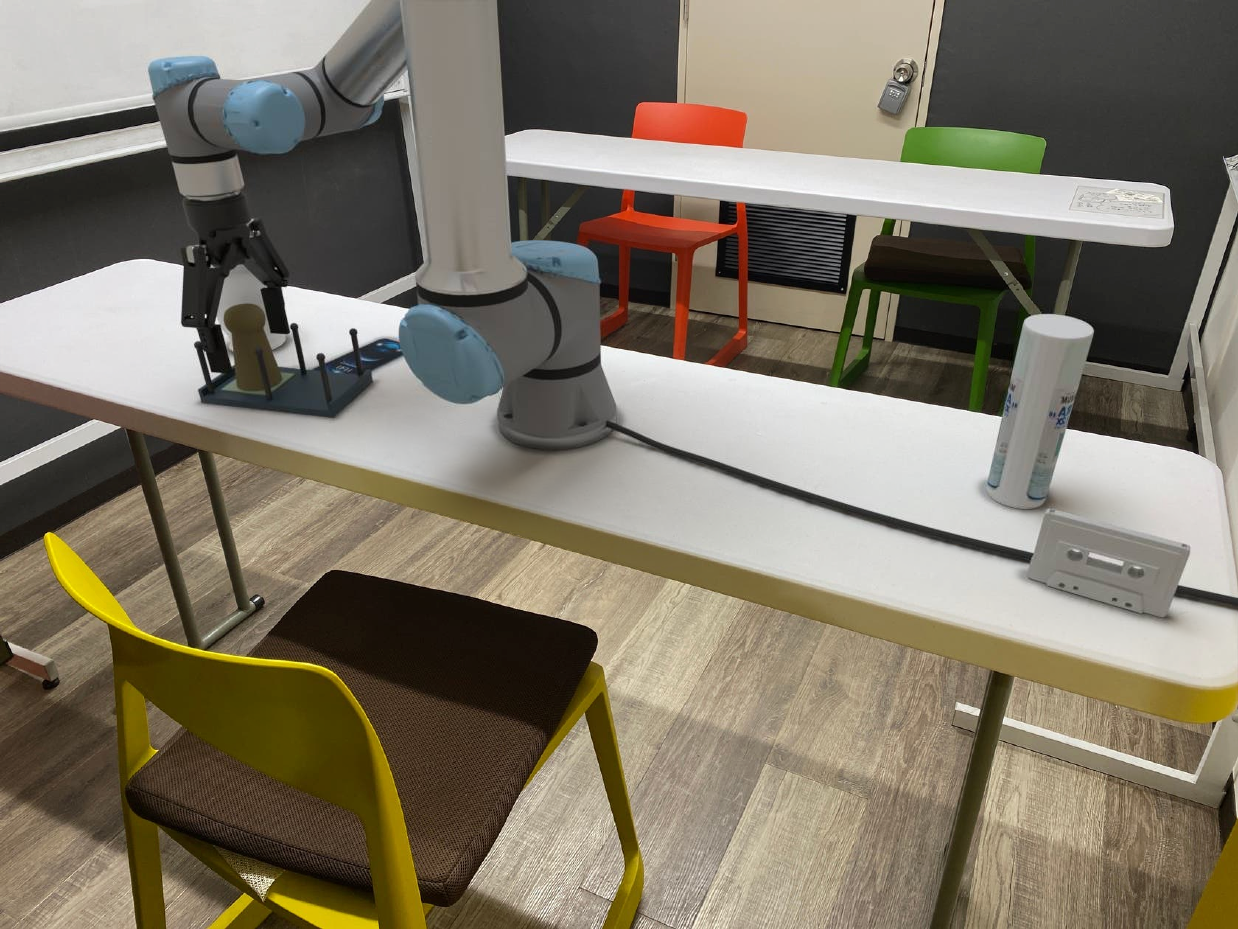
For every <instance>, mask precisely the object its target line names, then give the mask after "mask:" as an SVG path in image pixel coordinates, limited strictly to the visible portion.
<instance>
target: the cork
mask: <svg viewBox="0 0 1238 929" xmlns="http://www.w3.org/2000/svg"><path fill="white" fill-rule="evenodd" d="M224 324H225V326H226V328H227V329H228V331H230V332H231V334H232V344H233V351H232V352H233V353H232V354H233V363H234V364H233V365H235V373H236V383H237V387H238V388H239V389H241V390H244V391H261V390H264V386H263V382H262V377H261V373H260V369H259V365H258V361H257V356H256V354H255V353H254V349H255V348H256V347H261V348H262V349H263V358H264V362H265V366H266V370H267V375H268V379H269V383H270V388H272V387H274V386H276V385H278V384H279V383H280V382H281V381H282V375H281V373H280V370H279V367H280V366H279V365H278V363H277V362H278V361H277V360H276V357H275V355H274V352H273V350H272V349H271V347H270V344H269V341H268V339H267V336H266V333H265V331H264V326H265V314H264V312H263V310H262V309H261V308H260V307H259V306H258V305H255V304H250V303H245V304H238V305H234V306H232V307H230V308H228V309H227V310H226V311H225V313H224Z"/></svg>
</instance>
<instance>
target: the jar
mask: <svg viewBox="0 0 1238 929" xmlns="http://www.w3.org/2000/svg"><path fill="white" fill-rule="evenodd" d="M210 268H215V267H213V266H212V265H211V267H210ZM275 269H277V268H276V267H275ZM262 288H267V286H264V285H263V284H262V283H261V282H260V281H259V280H258V279H257V278H256V277H255V276H254V275H253V274H252V273H251V272H250V271H249V270H248V269H247V268H246V267H245V266H244V265H243V264H242V265H237V266H236V267H235V268H234V269H232V270H230V273H229V276H228V277H226V278H225V280H224V284H223V289H222V293H221V298H220V303H219V307H218V312H217V316H216V320H217V322H218V324H220V325H221V329H222V332H223V333H224V334H225V335H226V336H227V337H228V339H229V342H228V349H229V350H230V351H231V352H233V344H232V334H231V332H230V331H228V329H227V328H226V326H225V324H224V313H225V311H226V310H227V309H228V308H230V307H232V306H234V305H238V304H245V303H250V304H255V305H258V306H259V307H260V308H261V309H262V310H263V312H264V314H265V326H264V331H265V333H266V336H267V339H268V341H269V344H270V347H271V349H272V351H273V350H275V349H278V348H279V347H281V346H282V345H284V343H285V342H286V339H287V337H286V334H275V333H270V328H269V324H268V320H267V316H266V311H265V307H264V303H263V299H262V294H261V290H260V289H262ZM281 288H282V289H283V287H281ZM282 293H283V294H284V292H283V291H282Z"/></svg>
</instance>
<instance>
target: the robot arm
mask: <svg viewBox="0 0 1238 929" xmlns="http://www.w3.org/2000/svg"><path fill="white" fill-rule="evenodd" d="M498 20H499V18H498V1H497V0H370V1H369V2H368V3H367V5H366V6H365V7H364V8H363V9H362V10H361V12H359V13H358V15H357V17H356V18H355V19H354V20H353V22H352V23H351V24H350V25H349V26H348V27H347V29H346V30H345V31H344V32H343V33H342V35H340V36H339V38H338V40H337V41H336V42H335V43H334V44H333V46H332V47H331V48H330V50H329V51H327V53H325V55H324V56H323V57H322V58H321V59H320V61H318V63H317V64H316V65H315V66H314V67H312V68H310V69H304V70H297V71H291V72H287V73H286V72H285V73H279V74H273V75H267V76H266V75H265V76H259V77H253V78H246V79H229V78H228V79H227V78H226V79H225V78H222V77H221V74H220V73H219V70H218V68H217V65H216V62H215V61H214V60H213V59H212V58H211V57H208V56H204V55H185V56H184V55H183V56H171V57H170V56H169V57H164V58H163V57H162V58H158V59H155V60H152V61H151V62H150V63H149V65H148V67H147V72H148V77H149V81H150V86H151V90H152V91H151V92H152V95H151V98H152V101H153V103H154V105H155V109H156V112H157V116H158V119H159V124H160V126H161V130H162V133H163V137H164V140H165V144H166V147H167V151H168V154H169V157H170V161H171V164H172V168H173V171H174V175H175V180H176V183H177V187H178V191H179V193H180V195H183V196H184V197H183V198H182V200H181V204H182V207H183V211H184V215H185V219H186V222H187V226H188V228H189V229H191V230H192V231H194V233H196V235H197V244H195V245H182V246H181V247H180V253H181V259H182V264H183V269H182V270H183V272H182V273H183V274H182V292H181V315H180V324H181V327H183V328H191V329H196V331H197V336H198V338H199V341H200V342H201V345H202V349H203V351H204V353H205V356H206V360H207V362H208V367H209V369H210V370H209V371H210V373H215V374H221V373H224V374H230V373H232V372H233V370H232V366H233V365H232V363H231V359H230V356H229V352H228V348H227V344H226V339H225V336H224V331H223V329H222V328H221V325H220V324H219V323H216V320H217V312H218V307H219V303H220V298H221V293H222V289H223V284H224V280H225V278H226V277H228V276H229V273H230V270H232V269H234V268H235V267H236V266H237V265H242V264H243V265H244V266H245V267H246V268H247V269H248V270H249V271H250V272H251V273H252V274H253V275H254V276H255V277H256V278H257V279H258V280H259V281H260V282H261V283H262V284H263V285H264V286H267V288H262V289H260V290H261V294H262V299H263V303H264V307H265V311H266V316H267V320H268V324H269V328H270V333H275V334H284V335H290V333H291V329H290V324H289V320H288V316H287V311H286V301H285V298H284V292H283V288H287V287H288V285H289V281H288V279H289V277H290V271H289V268H288V267H287V266H286V264H285V262H284V261H283V259H282V258H281V256H280V255H279V253H278V250H277V249H276V248H275V246H274V244H273V243H272V240H271V239H270V237H269V236H268V235H267V231H266V228H265V225H264V224H265V223H264V222H263V219H262V218H252V215H251V211H250V205H249V200H248V197H247V193H246V192H244V191H243V190H242V189H244V186H245V182H244V177H243V173H242V170H241V169H242V168H241V166H240V165H241V164H240V161H239V158H238V153H237V150H238V151H245V152H250V153H252V154H255V153H256V154H258V155H269V154H278V155H279V154H285V153H289V152H291V151H292V150H293V149H294V148H295V147H296V146H297V145H298V144H299V143H300V142H302V141H308V140H311V139H314V138H315V139H316V138H319V137H324V136H325V137H326V136H330V135H333V134H338V133H339V134H340V133H344V132H353V131H357V130H359V129H361V128H363V127H365V126H368V125H371V124H373V123H375V122H376V121H378V119H379V118H380V117H381V115H382V114H383V111H382V110H383V106H384V104H385V94H386V93H387V92H388V91H389V90H390V88H391V87H392V86H393V85H395V83H396V82H397V81H398V80H399V79H400V78H402V76H403V75H404V74H405V73H406V72H407V79H408V86H409V88H408V89H409V95H410V104H411V114H412V116H411V117H412V123H413V132H414V133H413V134H414V142H415V152H416V159H417V160H416V161H417V170H418V178H419V187H420V196H421V205H422V206H421V208H422V214H423V223H424V225H423V226H424V234H425V244H426V251H427V259H426V260H425V261H424V262H423V263H422V264H421V265H420V266H419V268H417V270H416V272H415V274H414V280H415V286H416V297H417V305H415V306H412V307H411V306H410V308H409V309H408V311H407V312H406V313H405V314H404V317H403V318H402V319H401V320H400V322H399V325H398V342H400V347H401V350H402V353H403V356H402V357H403V358H404V360H405V362H406V364H407V366H408V368H409V369H410V371H411V372H412V374H413V375H414V376H415V378H416V379H418V380H419V381H420V382H421V383H422V385H423V387H425V388H426V389H427V390H428V391H430V392H431V393H432V394H433V395H435V396H437V398H440V399H442V400H444V401H446V402H449V403H452V404H456V405H471V404H475V403H477V402H480V401H481V400H484V399H485V398H487V397H491V396H494V395H497V394H498V393H500V391H501V394H500V398H499V402H498V407H497V409H496V410H497V411H496V416H497V426H498V429H499V431H500V433H501V434H502V435H503V436H504V437H505V438H506V439H508V440H509V441H511V442H512V443H514V444H517V445H519V446H523V447H527V448H531V449H539V450H553V451H554V450H567V449H573V448H574V449H575V448H579V447H583V446H587V445H591V444H593V443H595V442H598V441H599V440H601V439H603V438H605V437H606V436H607V435H609V434H610V433H611V432H612V431H616V432H618V433H620V434H623V435H625V436H628V437H630V438H632V439H635V440H637V441H639V442H641V443H643V444H645V445H647V446H650V447H652V448H655V449H658V450H660V451H663V452H665V453H667V454H671V455H675V456H677V457H680V458H683V459H687V460H690V461H693V462H696V463H699V464H702V465H706V466H708V467H712V468H714V469H718V470H719V471H723V472H725V473H729V474H732V475H735V476H737V477H741V478H742V479H746V480H748V481H752V482H755V483H757V484H760V485H763V486H765V487H769V488H772V489H775V490H777V491H781V492H785V493H786V494H790V495H793V496H796V497H799V498H801V499H802V498H803V499H805V500H809V501H812V502H814V503H818V504H820V505H824V506H827V507H830V508H834V509H837V510H840V511H844V512H847V513H850V514H853V515H857V516H859V517H864V518H867V519H870V520H874V521H876V522H880V523H883V524H887V525H891V526H895V527H899V528H902V529H906V530H910V531H913V532H916V533H920V534H924V535H928V536H931V537H935V538H939V539H942V540H946V541H950V542H954V543H958V544H962V545H965V546H969V547H973V548H977V549H981V550H985V551H990V552H994V553H997V554H1001V555H1006V556H1010V557H1014V558H1017V559H1022V560H1026V561H1030V562H1031V559H1032V557H1033V554H1034V552H1032V551H1026V550H1022V549H1018V548H1013V547H1009V546H1006V545H1001V544H997V543H994V542H988V541H984V540H980V539H976V538H973V537H969V536H965V535H961V534H957V533H953V532H949V531H946V530H945V531H944V530H941V529H938V528H933V527H930V526H927V525H922V524H920V523H919V524H918V523H915V522H911V521H908V520H904V519H901V518H897V517H893V516H890V515H887V514H883V513H879V512H875V511H873V510H869V509H865V508H862V507H858V506H855V505H852V504H849V503H846V502H842V501H838V500H835V499H832V498H829V497H825V496H822V495H819V494H816V493H813V492H810V491H806V490H803V489H800V488H797V487H794V486H791V485H788V484H785V483H782V482H780V481H776V480H773V479H770V478H766V477H765V476H764V477H763V476H761V475H758V474H755V473H753V472H749V471H746V470H743V469H740V468H738V467H735V466H732V465H729V464H727V463H724V462H720V461H718V460H715V459H711V458H708V457H706V456H702V455H700V454H696V453H692V452H689V451H686V450H682V449H679V448H677V447H674V446H671V445H668V444H665V443H662V442H660V441H657V440H655V439H652V438H650V437H648V436H645V435H643V434H641V433H640V432H637V431H634V430H632V429H629V428H628V427H625V426H622V425H620V424H617V404H616V401H615V398H614V395H613V393H612V390H611V387H610V385H609V382H608V379H607V377H606V374H605V370H604V369H603V366H602V346H601V344H602V343H601V341H602V340H601V338H602V337H601V302H600V301H601V294H600V293H601V292H600V290H601V289H600V288H601V287H600V284H601V283H602V280H601V278H600V272H599V271H600V270H599V261H598V258H597V255H596V254H595V253H594V252H593V251H592V250H590V249H589V248H587V247H586V246H583V245H580V244H577V243H571V242H566V241H556V240H537V239H536V240H533V239H532V240H519V241H513V242H512V238H511V237H512V236H511V235H512V234H511V219H510V203H509V202H510V201H509V187H508V184H509V183H508V170H507V152H506V151H507V150H506V135H505V134H506V133H505V120H504V117H505V116H504V102H503V99H504V98H503V88H502V87H503V84H502V70H501V68H502V67H501V52H500V34H499V33H500V32H499V21H498ZM211 265H212V266H213V267H215V268H210V267H211ZM275 267H276V268H277V269H275ZM281 287H282V288H281ZM282 292H283V293H282ZM1175 594H1178V595H1182V596H1187V597H1191V598H1192V597H1193V598H1197V599H1200V600H1205V601H1211V602H1215V603H1219V604H1224V605H1229V606H1232V607H1237V608H1238V597H1236V596H1232V595H1227V594H1222V593H1217V592H1213V591H1208V590H1203V589H1199V588H1194V587H1189V586H1184V585H1180V584H1178V586H1177V589H1176V591H1175Z"/></svg>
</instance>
